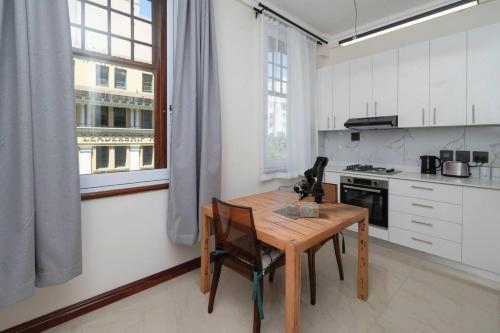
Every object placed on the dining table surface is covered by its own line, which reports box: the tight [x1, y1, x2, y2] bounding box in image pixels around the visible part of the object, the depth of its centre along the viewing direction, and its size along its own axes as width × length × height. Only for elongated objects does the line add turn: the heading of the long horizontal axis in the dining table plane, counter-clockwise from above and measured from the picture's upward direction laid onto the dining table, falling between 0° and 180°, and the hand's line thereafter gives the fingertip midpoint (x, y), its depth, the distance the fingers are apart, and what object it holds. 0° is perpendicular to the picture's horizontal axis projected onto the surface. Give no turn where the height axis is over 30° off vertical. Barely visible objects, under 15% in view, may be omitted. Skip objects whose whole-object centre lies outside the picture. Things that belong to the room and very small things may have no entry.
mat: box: [271, 207, 303, 220], centre depth 171 cm, size 14×22×1 cm, turn 38°
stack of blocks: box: [285, 201, 320, 218], centre depth 168 cm, size 21×6×12 cm
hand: (299, 200), depth 176 cm, fingers closed
